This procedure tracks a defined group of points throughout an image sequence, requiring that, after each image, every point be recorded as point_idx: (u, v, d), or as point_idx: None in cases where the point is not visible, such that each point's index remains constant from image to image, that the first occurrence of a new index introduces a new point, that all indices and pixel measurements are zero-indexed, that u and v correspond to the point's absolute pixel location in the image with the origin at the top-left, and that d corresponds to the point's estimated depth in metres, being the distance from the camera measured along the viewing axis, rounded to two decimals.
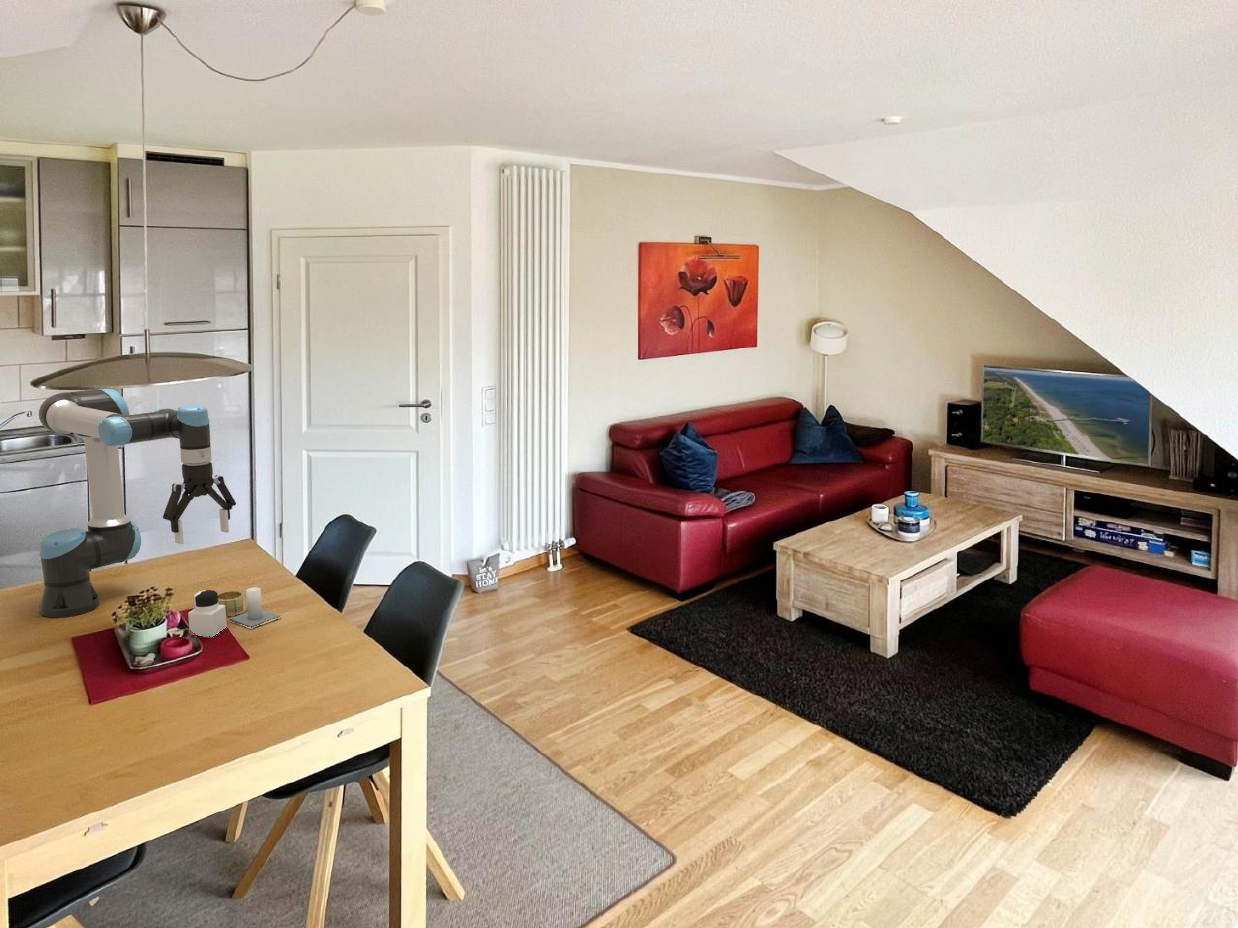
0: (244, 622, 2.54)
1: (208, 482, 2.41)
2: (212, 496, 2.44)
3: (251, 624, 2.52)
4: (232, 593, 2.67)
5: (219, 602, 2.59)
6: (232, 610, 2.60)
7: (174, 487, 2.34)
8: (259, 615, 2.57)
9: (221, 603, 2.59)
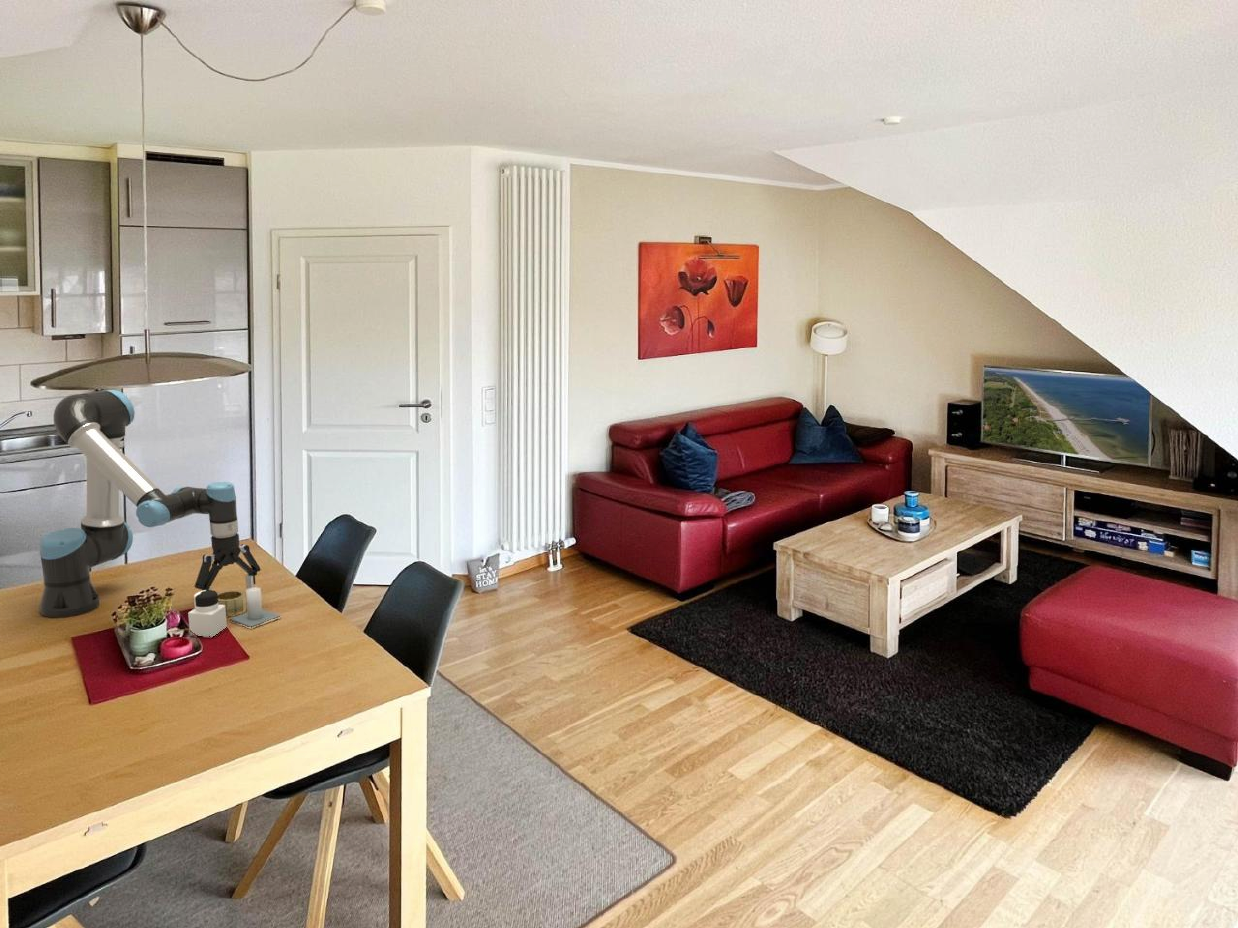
0: (244, 622, 2.54)
1: (235, 551, 2.62)
2: (239, 564, 2.64)
3: (251, 624, 2.52)
4: (232, 593, 2.67)
5: (219, 602, 2.59)
6: (232, 610, 2.60)
7: (205, 558, 2.55)
8: (259, 615, 2.57)
9: (221, 603, 2.59)
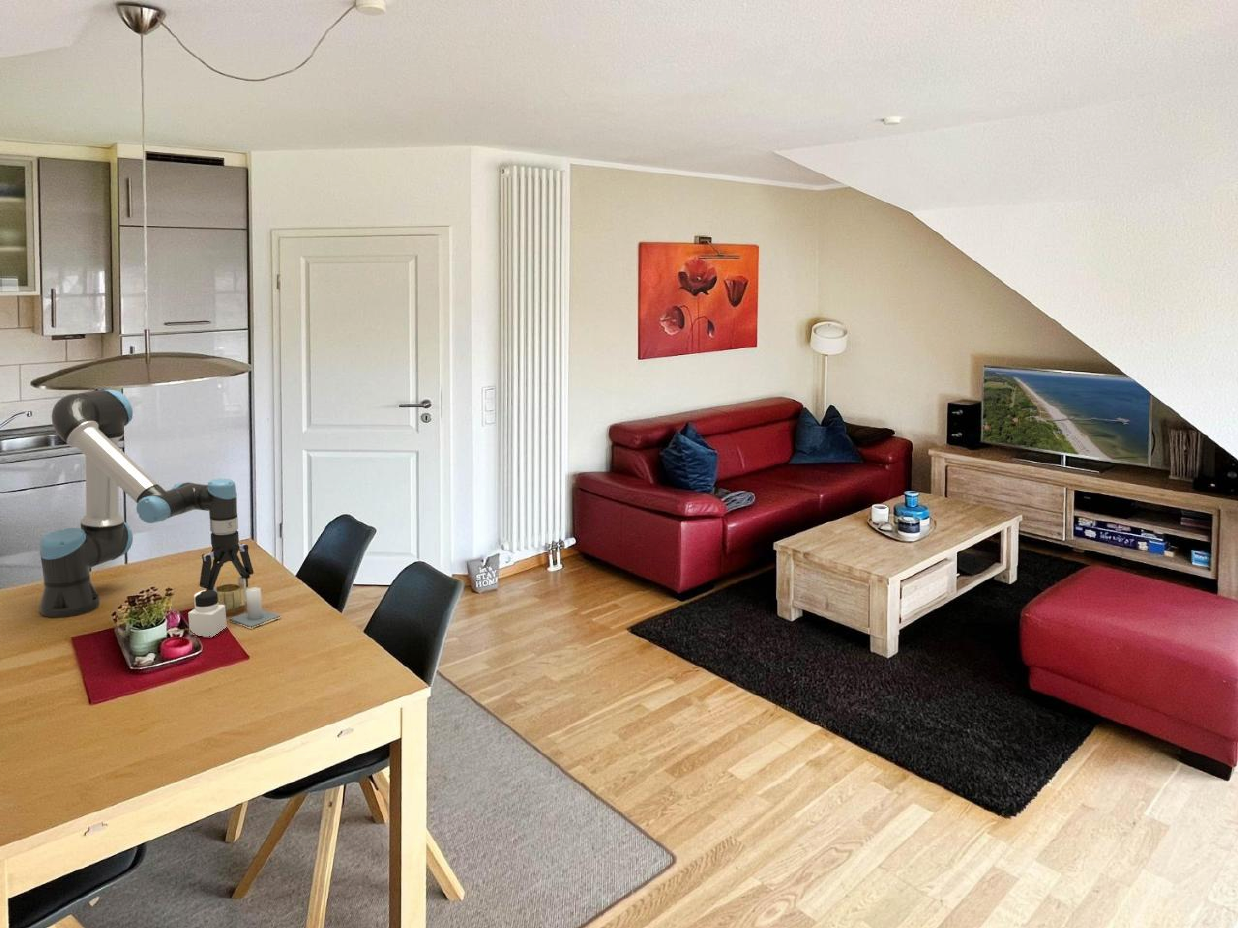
0: (244, 622, 2.54)
1: (234, 548, 2.62)
2: (235, 563, 2.64)
3: (251, 624, 2.52)
4: (230, 586, 2.66)
5: None
6: (230, 603, 2.60)
7: (204, 558, 2.55)
8: (259, 615, 2.57)
9: (219, 596, 2.59)
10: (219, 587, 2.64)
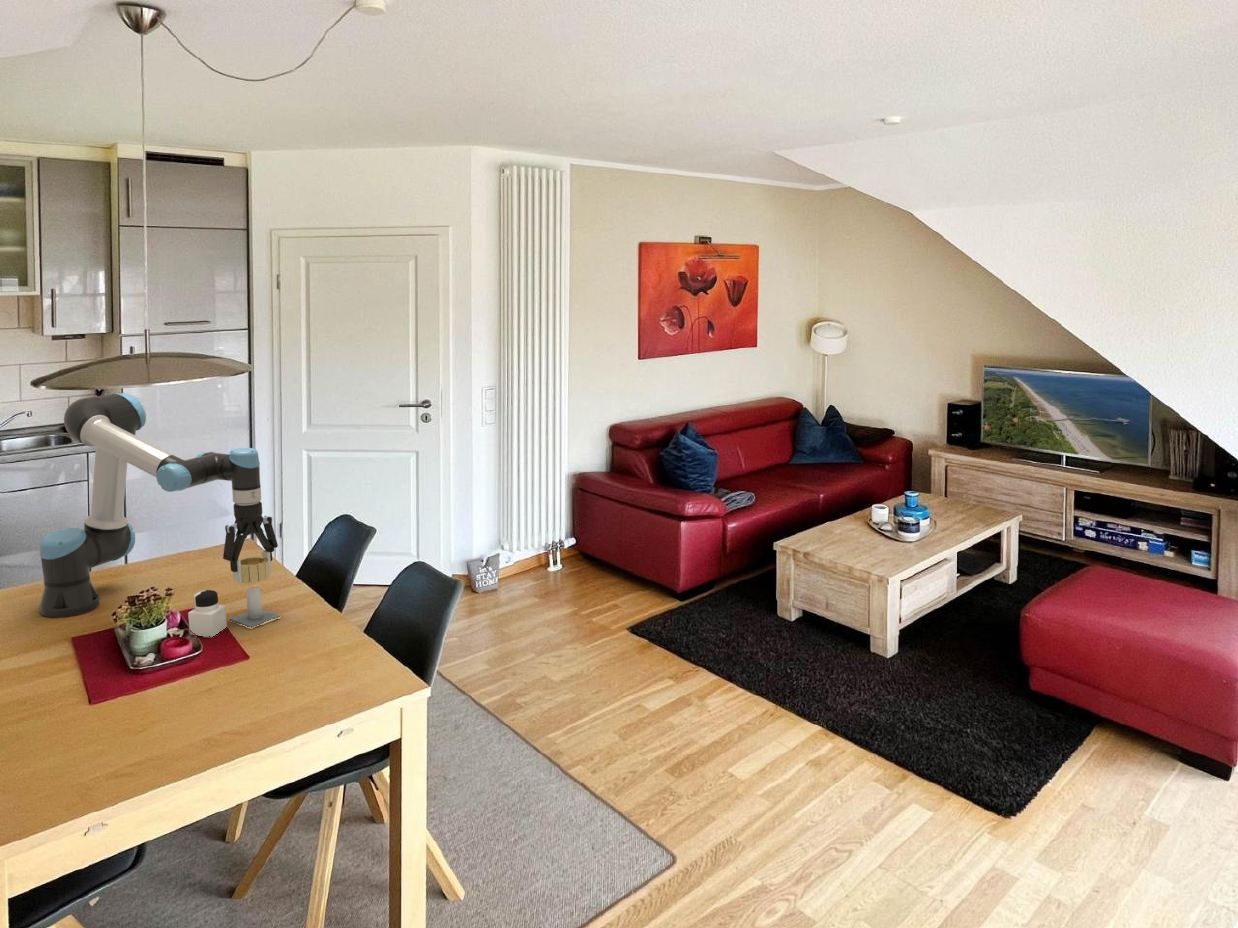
0: (244, 622, 2.54)
1: (258, 520, 2.53)
2: (258, 536, 2.55)
3: (251, 624, 2.52)
4: (254, 559, 2.58)
5: (241, 568, 2.50)
6: (255, 576, 2.51)
7: (227, 529, 2.46)
8: (259, 615, 2.57)
9: (243, 569, 2.50)
10: (243, 561, 2.56)
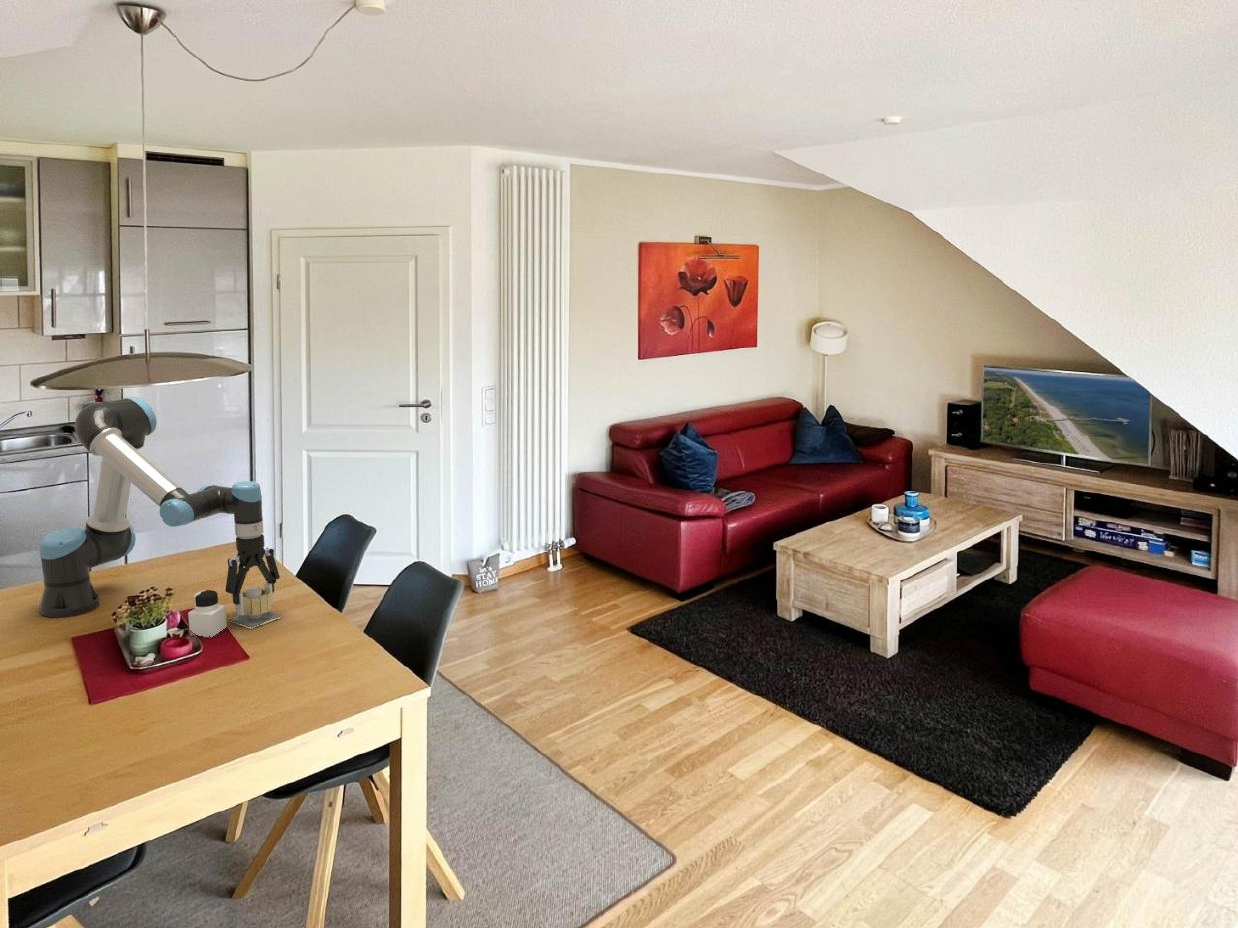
0: (244, 622, 2.54)
1: (260, 552, 2.55)
2: (260, 568, 2.57)
3: (251, 624, 2.52)
4: None
5: (244, 600, 2.52)
6: (257, 608, 2.53)
7: (230, 562, 2.48)
8: (259, 615, 2.57)
9: (246, 601, 2.52)
10: (245, 592, 2.58)
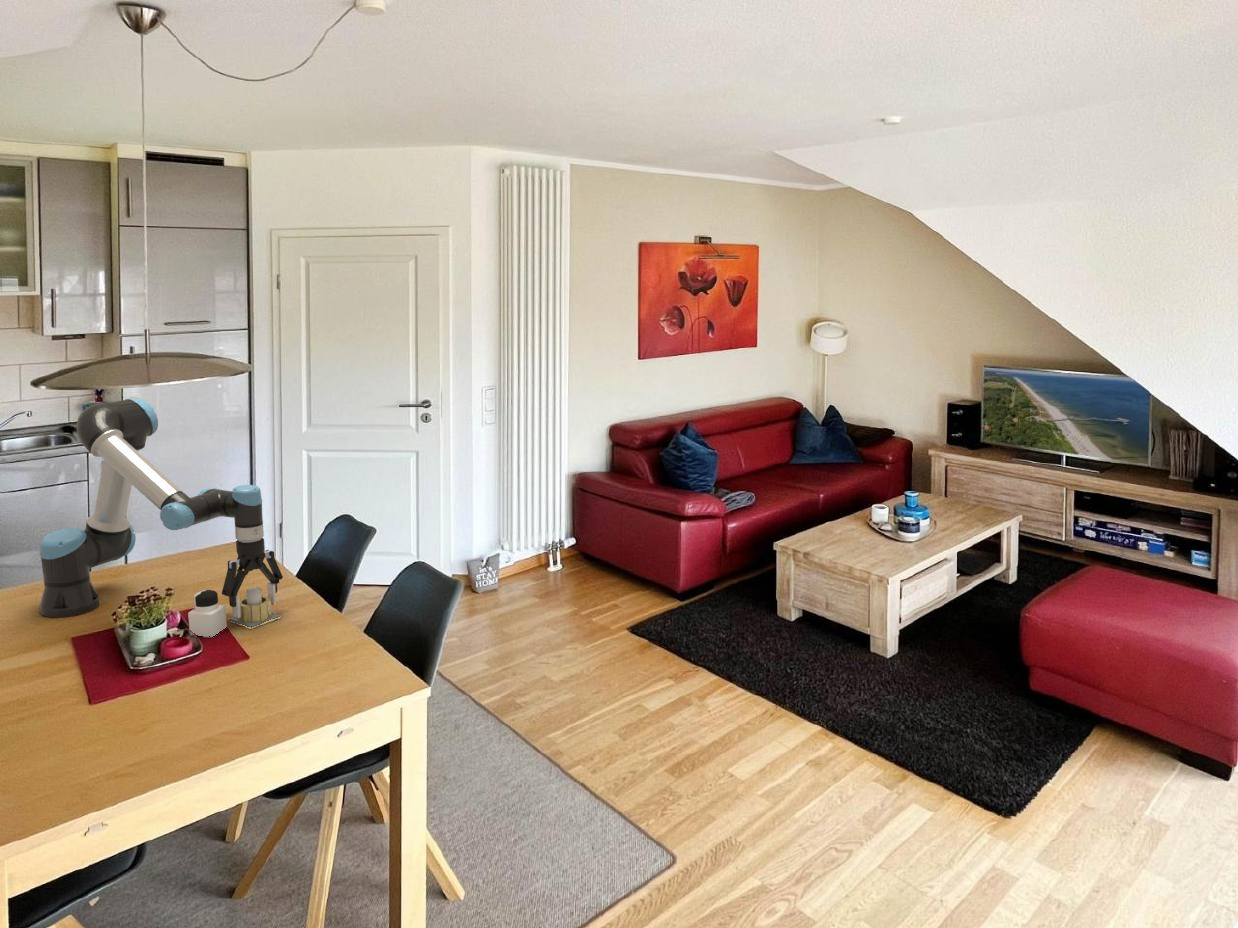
0: None
1: (260, 556, 2.55)
2: (262, 570, 2.58)
3: (251, 624, 2.52)
4: None
5: (244, 608, 2.53)
6: (257, 616, 2.54)
7: (230, 564, 2.48)
8: None
9: (246, 609, 2.53)
10: (245, 600, 2.58)
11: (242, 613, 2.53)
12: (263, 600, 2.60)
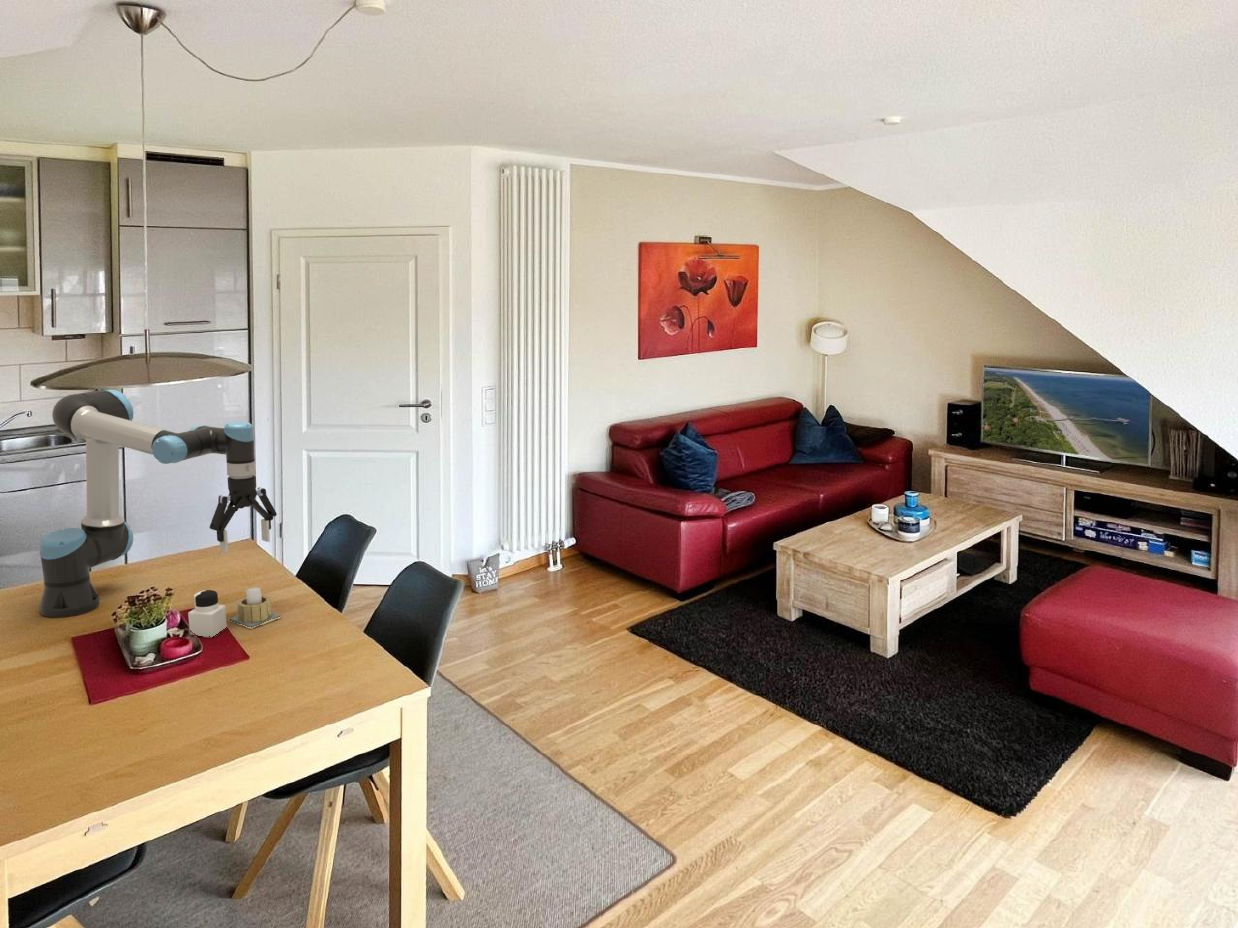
0: None
1: (252, 494, 2.55)
2: (255, 507, 2.58)
3: (251, 624, 2.52)
4: None
5: (244, 608, 2.53)
6: (257, 616, 2.54)
7: (220, 499, 2.48)
8: None
9: (246, 609, 2.53)
10: (245, 600, 2.58)
11: (242, 613, 2.53)
12: (263, 600, 2.60)
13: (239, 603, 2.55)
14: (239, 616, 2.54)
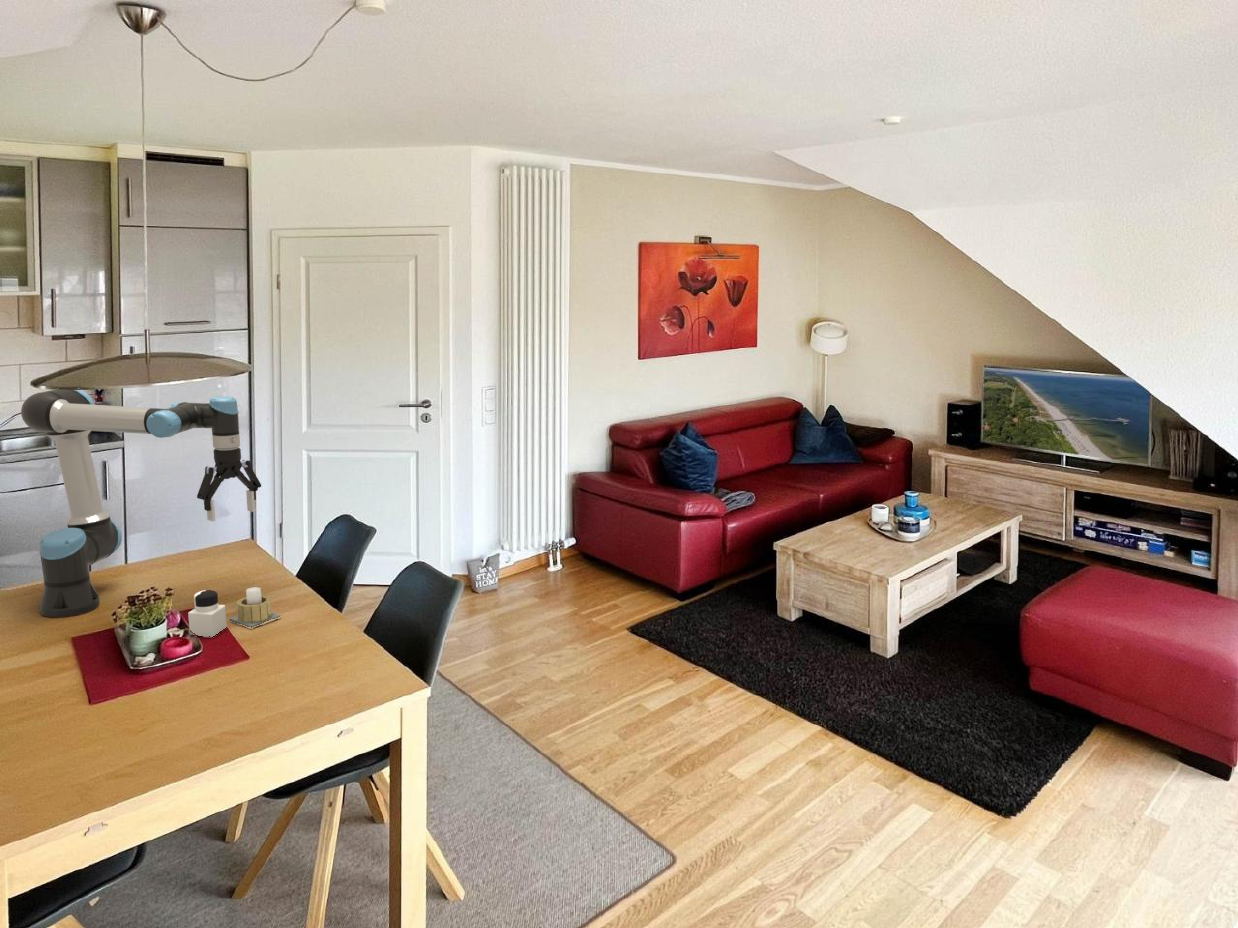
0: None
1: (237, 466, 2.68)
2: (240, 478, 2.70)
3: (251, 624, 2.52)
4: None
5: (244, 608, 2.53)
6: (257, 616, 2.54)
7: (207, 469, 2.60)
8: None
9: (246, 609, 2.53)
10: (245, 600, 2.58)
11: (242, 613, 2.53)
12: (263, 600, 2.60)
13: (239, 603, 2.55)
14: (239, 616, 2.54)
